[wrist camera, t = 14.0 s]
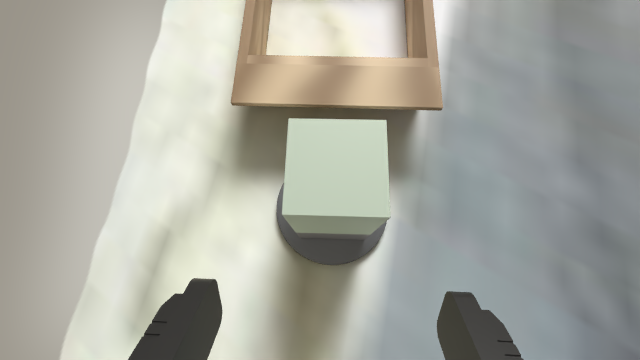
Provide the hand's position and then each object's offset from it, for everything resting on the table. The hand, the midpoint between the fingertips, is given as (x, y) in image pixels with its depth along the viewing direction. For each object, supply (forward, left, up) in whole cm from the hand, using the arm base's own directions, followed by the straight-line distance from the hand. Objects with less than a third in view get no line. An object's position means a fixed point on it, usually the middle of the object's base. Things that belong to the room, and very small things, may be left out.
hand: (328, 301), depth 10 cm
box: (0, -6, -12) cm, 14 cm away
